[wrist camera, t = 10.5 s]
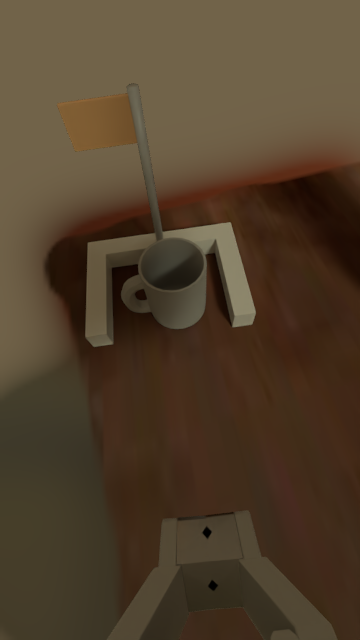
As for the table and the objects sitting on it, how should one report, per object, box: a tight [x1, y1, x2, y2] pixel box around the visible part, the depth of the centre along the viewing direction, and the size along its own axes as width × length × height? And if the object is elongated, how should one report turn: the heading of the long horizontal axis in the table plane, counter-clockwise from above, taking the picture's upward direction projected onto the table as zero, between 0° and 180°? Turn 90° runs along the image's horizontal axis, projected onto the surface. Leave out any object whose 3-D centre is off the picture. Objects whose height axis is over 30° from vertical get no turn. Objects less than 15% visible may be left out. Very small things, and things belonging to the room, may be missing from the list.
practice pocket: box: [57, 84, 256, 347], centre depth 31 cm, size 14×20×21 cm
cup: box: [121, 237, 207, 329], centre depth 35 cm, size 7×10×9 cm
